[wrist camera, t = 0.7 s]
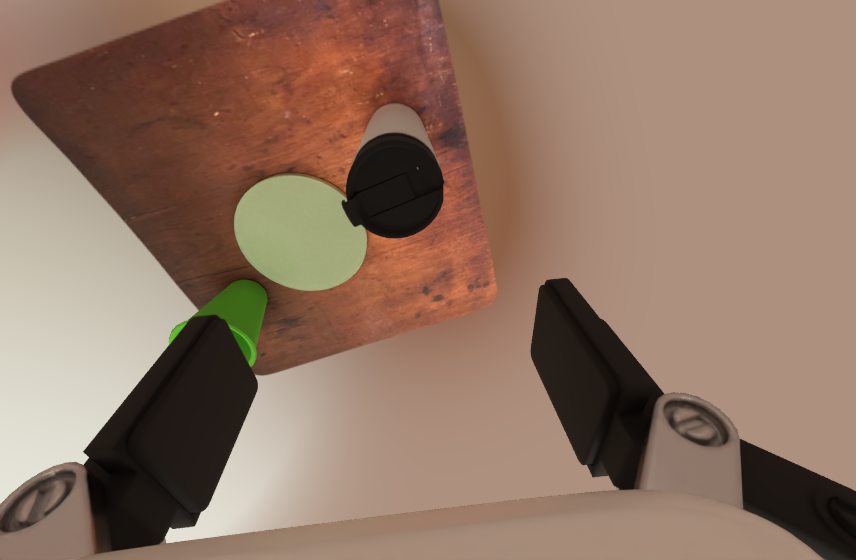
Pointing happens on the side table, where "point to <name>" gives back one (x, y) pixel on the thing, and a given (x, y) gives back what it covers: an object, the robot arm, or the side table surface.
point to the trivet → (299, 232)
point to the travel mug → (394, 176)
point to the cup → (237, 314)
